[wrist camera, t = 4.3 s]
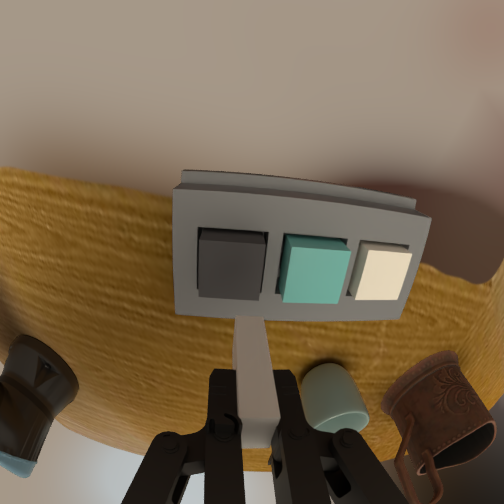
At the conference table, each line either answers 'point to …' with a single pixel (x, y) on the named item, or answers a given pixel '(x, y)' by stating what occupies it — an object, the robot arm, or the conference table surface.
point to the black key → (230, 264)
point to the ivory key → (379, 270)
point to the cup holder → (436, 420)
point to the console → (274, 230)
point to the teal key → (313, 269)
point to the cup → (332, 399)
